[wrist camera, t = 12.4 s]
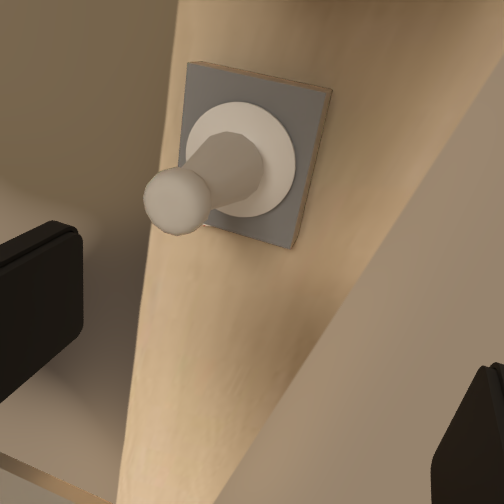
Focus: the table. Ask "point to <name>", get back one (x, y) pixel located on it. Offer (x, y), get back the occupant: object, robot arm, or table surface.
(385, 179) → the table surface
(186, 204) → the salt shaker
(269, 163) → the scale
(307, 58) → the table surface
